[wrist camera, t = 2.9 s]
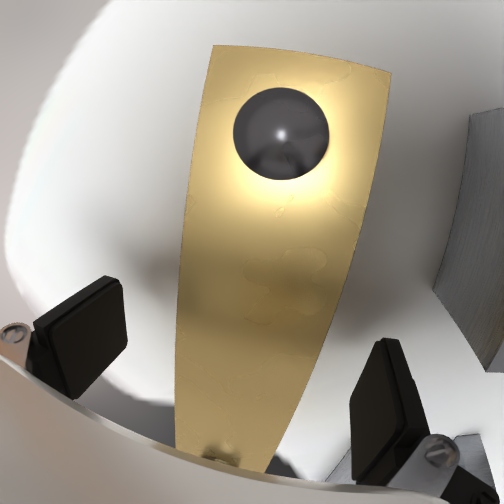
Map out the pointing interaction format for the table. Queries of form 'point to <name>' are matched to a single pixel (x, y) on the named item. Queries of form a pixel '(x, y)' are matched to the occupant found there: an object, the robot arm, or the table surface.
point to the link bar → (267, 239)
